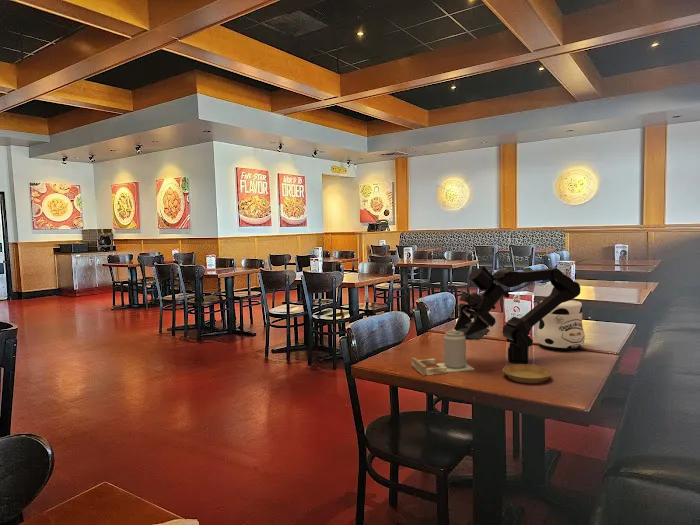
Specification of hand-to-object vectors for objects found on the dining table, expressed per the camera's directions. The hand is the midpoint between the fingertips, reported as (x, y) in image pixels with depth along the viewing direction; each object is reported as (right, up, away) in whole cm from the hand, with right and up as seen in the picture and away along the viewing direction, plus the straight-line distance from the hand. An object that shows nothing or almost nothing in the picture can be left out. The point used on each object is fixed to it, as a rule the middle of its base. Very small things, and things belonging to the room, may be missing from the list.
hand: (460, 332), depth 169 cm
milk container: (+45, -9, +23) cm, 51 cm away
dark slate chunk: (+16, -9, +51) cm, 55 cm away
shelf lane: (-10, -13, -1) cm, 16 cm away
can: (-2, -12, 0) cm, 12 cm away
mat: (-2, -12, 0) cm, 12 cm away
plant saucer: (+18, -13, -14) cm, 26 cm away
